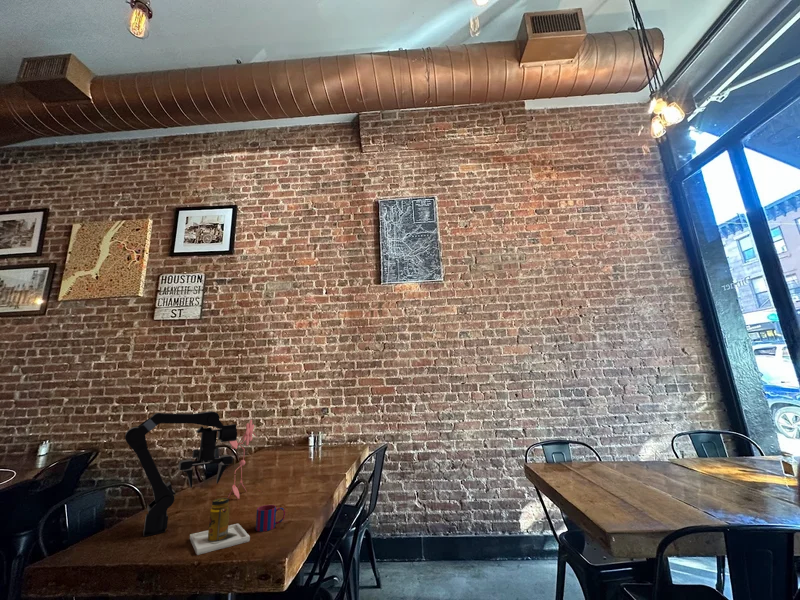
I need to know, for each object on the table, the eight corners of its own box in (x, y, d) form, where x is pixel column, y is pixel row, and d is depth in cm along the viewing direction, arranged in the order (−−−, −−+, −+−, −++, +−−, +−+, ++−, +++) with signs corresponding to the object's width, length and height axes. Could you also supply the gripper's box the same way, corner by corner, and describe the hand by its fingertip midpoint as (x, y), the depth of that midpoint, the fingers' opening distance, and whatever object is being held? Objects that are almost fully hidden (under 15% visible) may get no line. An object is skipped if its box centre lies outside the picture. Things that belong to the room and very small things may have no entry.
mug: (258, 525, 134) (259, 505, 135) (285, 523, 135) (286, 503, 136) (253, 532, 127) (254, 511, 129) (282, 530, 128) (283, 509, 130)
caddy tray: (196, 555, 110) (197, 549, 111) (189, 539, 123) (190, 534, 123) (249, 541, 120) (250, 536, 120) (238, 527, 132) (238, 523, 132)
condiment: (201, 540, 120) (205, 500, 123) (225, 531, 127) (228, 494, 130) (214, 544, 117) (218, 503, 120) (238, 535, 124) (240, 497, 127)
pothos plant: (217, 504, 159) (226, 422, 168) (238, 489, 184) (245, 417, 192) (252, 504, 160) (260, 422, 168) (269, 488, 185) (274, 417, 193)
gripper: (228, 439, 157) (225, 477, 153) (179, 444, 146) (174, 485, 142) (234, 441, 148) (231, 482, 145) (182, 447, 137) (177, 491, 134)
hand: (204, 485), depth 142 cm, fingers open, 9 cm apart
